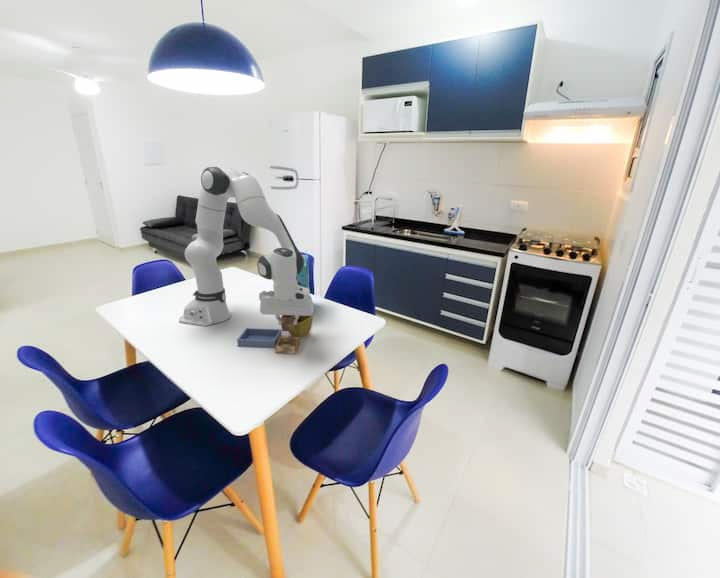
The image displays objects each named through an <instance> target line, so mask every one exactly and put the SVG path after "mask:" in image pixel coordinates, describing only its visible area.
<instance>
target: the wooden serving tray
mask: <svg viewBox="0 0 720 578" xmlns="http://www.w3.org/2000/svg"><path fill="white" fill-rule="evenodd" d="M301 342H302V341H301V338H300V337H294V336H283V335H282V336H281V337H280V338H279V340H278V342H277V344H276V346H275V348H274V350H275V352H274V353H275V354H278V355H279V354H281V355H297V354H298V351H299V349H300V346H301Z"/></svg>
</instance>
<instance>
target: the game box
mask: <svg viewBox="0 0 720 578" xmlns="http://www.w3.org/2000/svg"><path fill="white" fill-rule="evenodd" d="M302 256H303V258H304V267H303V269H302V271H301V272H300V273H299V274H296V280H297V285H299V286H302V287H305V288H308V289H309V290H310V273H309V272H310V271H309V269H310V267H309V265H310V264H309V263H310V262H309V260H310V259H309V254H302Z"/></svg>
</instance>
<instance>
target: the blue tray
mask: <svg viewBox="0 0 720 578" xmlns="http://www.w3.org/2000/svg"><path fill="white" fill-rule="evenodd" d="M281 336H282V337H283V335H282V329H276V328H252V327H251V328H250V327H246V328H245V329H244V330H243V332H241V334H240V336H239V337H238V338H237V339H236V342H237V347H244V348H245V347H246V348H266V349H269V348H270V349H275V346H276V344H277V342H278V340H279V338H280V337H281Z"/></svg>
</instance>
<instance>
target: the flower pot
mask: <svg viewBox="0 0 720 578" xmlns="http://www.w3.org/2000/svg"><path fill="white" fill-rule="evenodd" d="M295 319H296V318H295V315H294V320H295ZM313 319H314V317H313V315H311V316H299V318H298V319H297V325H294V329H293V331H292V332H288V333H289V335H290V337H300V339H302V338H304V337H305V336H308V334H309V333H310V331H311V329H312V325H313Z"/></svg>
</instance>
